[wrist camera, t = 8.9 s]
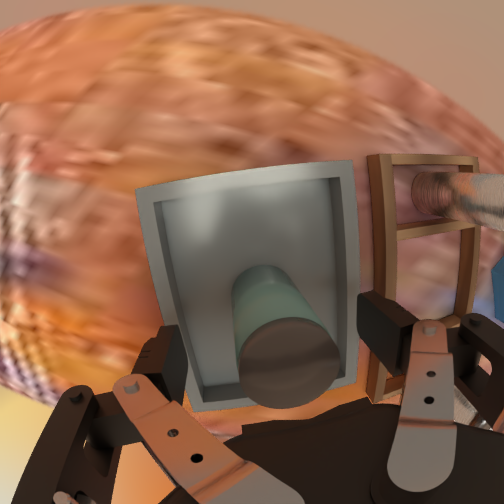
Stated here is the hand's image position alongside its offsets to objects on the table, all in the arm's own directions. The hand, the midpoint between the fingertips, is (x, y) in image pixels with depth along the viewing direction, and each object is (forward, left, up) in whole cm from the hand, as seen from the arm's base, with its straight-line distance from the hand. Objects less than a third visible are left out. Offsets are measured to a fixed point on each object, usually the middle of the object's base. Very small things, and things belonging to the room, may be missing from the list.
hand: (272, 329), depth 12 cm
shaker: (0, 0, -4) cm, 4 cm away
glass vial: (-12, -5, -5) cm, 14 cm away
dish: (0, 0, -5) cm, 5 cm away
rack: (-12, +2, -5) cm, 13 cm away
